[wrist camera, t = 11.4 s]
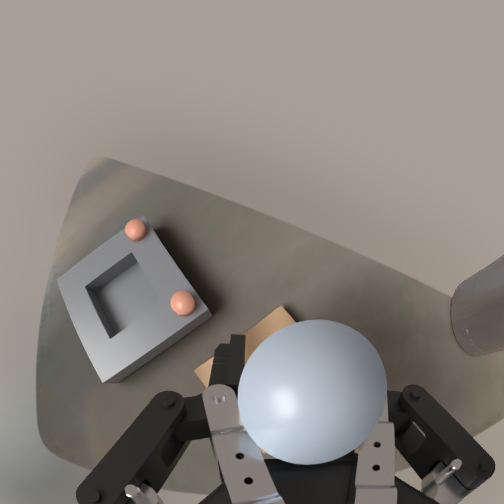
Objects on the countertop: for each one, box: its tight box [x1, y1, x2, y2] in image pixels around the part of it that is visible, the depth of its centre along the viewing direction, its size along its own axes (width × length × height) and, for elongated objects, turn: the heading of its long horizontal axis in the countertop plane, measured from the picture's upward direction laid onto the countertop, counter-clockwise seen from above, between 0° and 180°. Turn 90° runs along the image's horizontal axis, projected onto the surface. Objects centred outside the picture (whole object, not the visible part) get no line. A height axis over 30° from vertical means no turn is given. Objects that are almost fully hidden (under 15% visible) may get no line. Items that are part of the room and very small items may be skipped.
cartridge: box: [238, 320, 387, 465], centre depth 13 cm, size 4×4×13 cm
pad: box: [194, 306, 296, 454], centre depth 20 cm, size 9×9×1 cm
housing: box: [57, 216, 212, 383], centre depth 22 cm, size 11×11×4 cm
